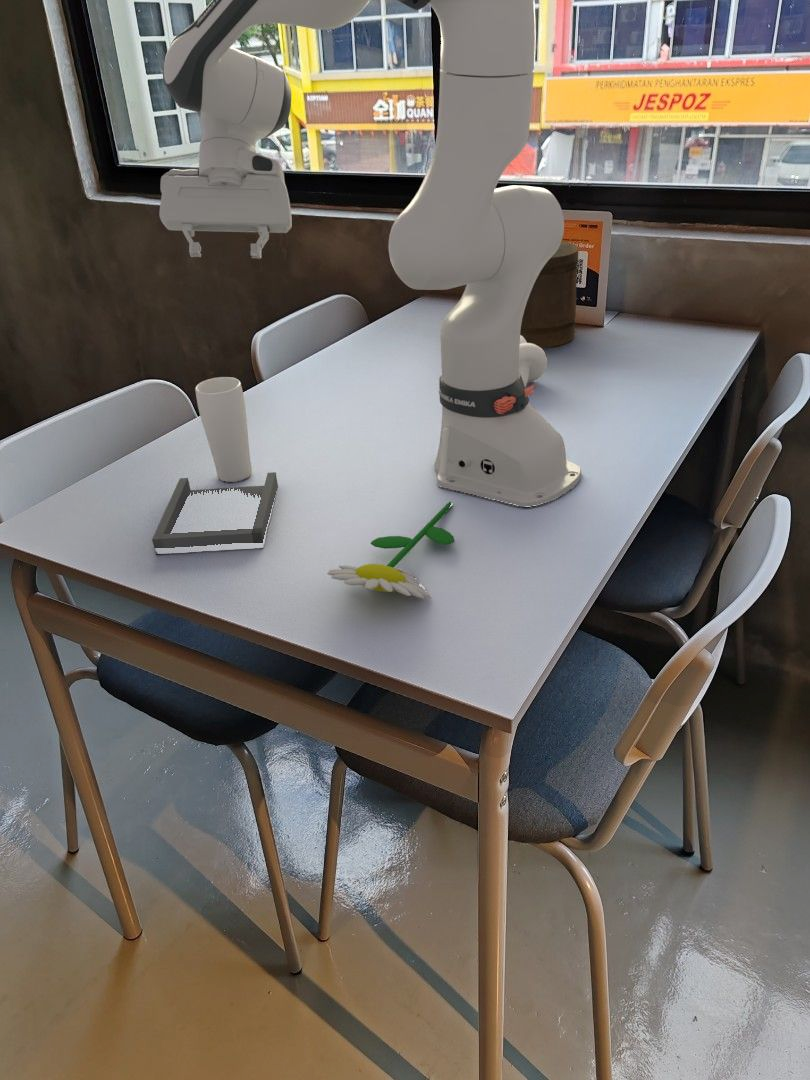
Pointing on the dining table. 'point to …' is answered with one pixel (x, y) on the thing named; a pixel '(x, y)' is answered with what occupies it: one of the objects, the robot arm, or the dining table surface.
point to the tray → (205, 538)
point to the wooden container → (553, 301)
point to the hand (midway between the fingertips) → (225, 256)
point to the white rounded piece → (531, 361)
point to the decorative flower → (394, 563)
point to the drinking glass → (225, 426)
